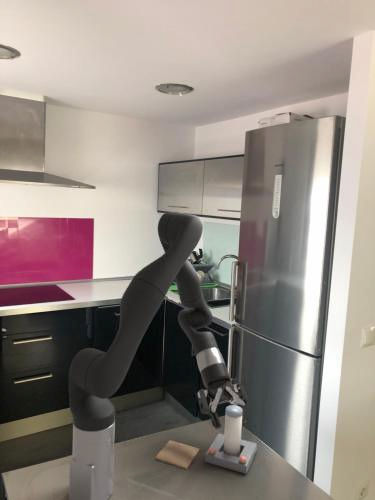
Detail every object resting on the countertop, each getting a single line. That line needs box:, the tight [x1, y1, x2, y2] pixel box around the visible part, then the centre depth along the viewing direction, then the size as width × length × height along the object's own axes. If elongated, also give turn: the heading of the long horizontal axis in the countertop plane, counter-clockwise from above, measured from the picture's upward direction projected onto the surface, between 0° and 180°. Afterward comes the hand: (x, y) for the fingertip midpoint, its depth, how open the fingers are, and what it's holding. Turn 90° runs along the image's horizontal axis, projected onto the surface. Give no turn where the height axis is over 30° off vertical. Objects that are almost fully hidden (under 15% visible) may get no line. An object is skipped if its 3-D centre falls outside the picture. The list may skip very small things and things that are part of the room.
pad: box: [154, 439, 201, 470], centre depth 108 cm, size 9×9×1 cm
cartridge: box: [223, 404, 243, 457], centre depth 107 cm, size 4×4×13 cm
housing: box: [204, 433, 258, 475], centre depth 108 cm, size 11×11×4 cm
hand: (232, 424), depth 108 cm, fingers open, 8 cm apart
